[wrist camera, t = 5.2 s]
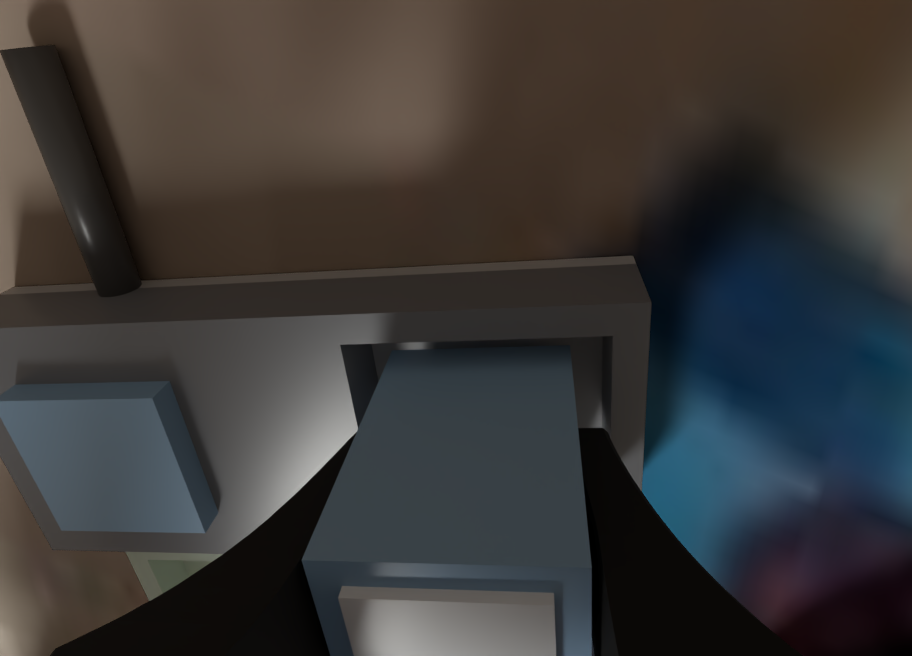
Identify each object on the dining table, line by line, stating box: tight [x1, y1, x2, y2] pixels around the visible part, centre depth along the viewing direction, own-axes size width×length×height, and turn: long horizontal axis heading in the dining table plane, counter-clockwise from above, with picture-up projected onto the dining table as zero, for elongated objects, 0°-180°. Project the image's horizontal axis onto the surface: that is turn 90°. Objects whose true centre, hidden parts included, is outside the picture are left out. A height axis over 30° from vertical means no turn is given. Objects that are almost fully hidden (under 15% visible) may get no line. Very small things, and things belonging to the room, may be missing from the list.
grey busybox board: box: [0, 45, 651, 554], centre depth 14 cm, size 12×16×3 cm
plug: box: [302, 345, 592, 656], centre depth 12 cm, size 4×4×6 cm
